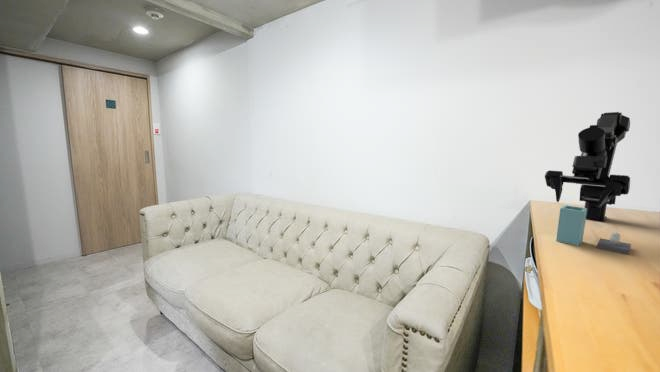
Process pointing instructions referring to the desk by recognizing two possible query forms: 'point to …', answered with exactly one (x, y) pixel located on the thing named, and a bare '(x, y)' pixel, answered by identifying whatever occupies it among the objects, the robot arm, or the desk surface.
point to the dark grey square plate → (614, 244)
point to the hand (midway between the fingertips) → (576, 203)
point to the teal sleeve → (571, 225)
